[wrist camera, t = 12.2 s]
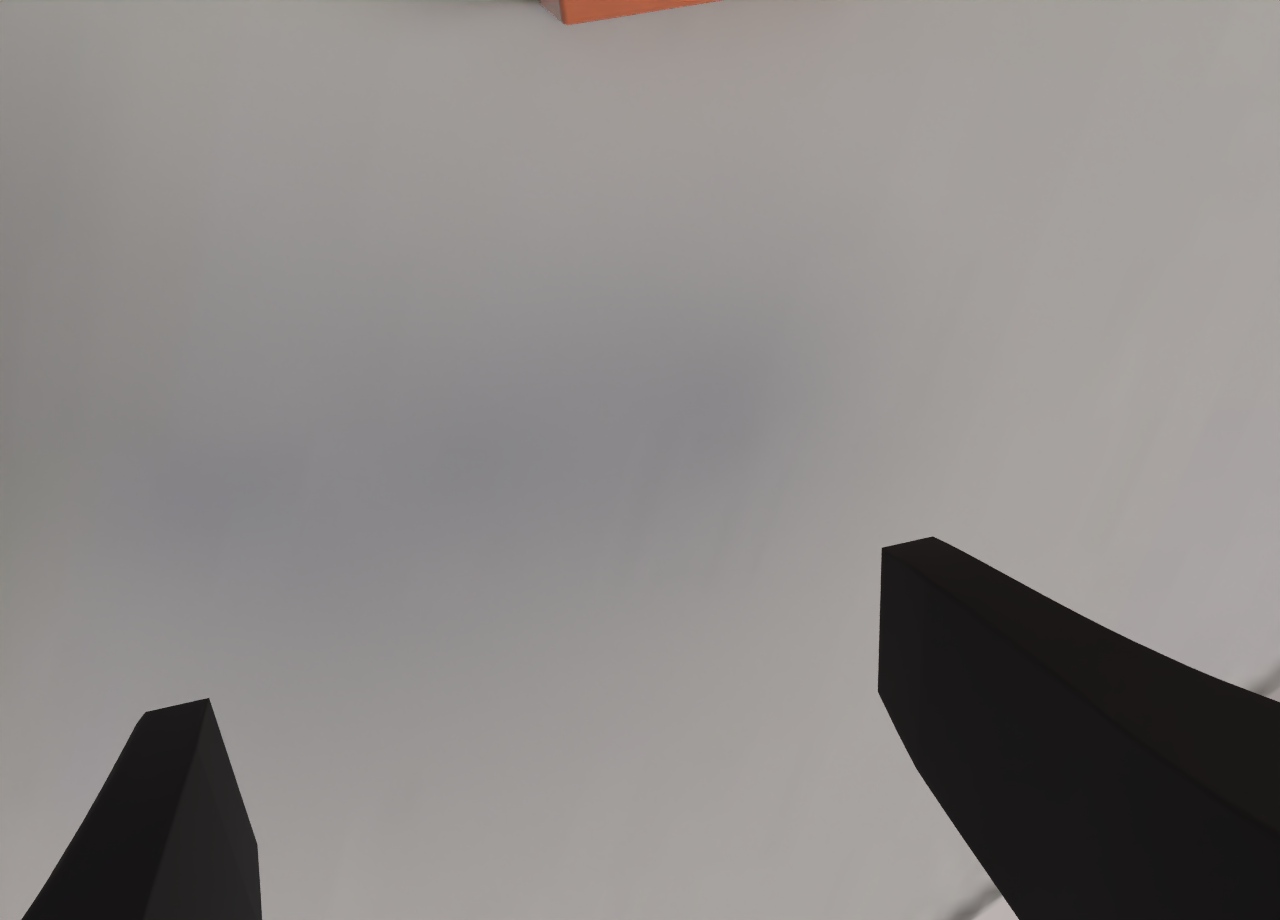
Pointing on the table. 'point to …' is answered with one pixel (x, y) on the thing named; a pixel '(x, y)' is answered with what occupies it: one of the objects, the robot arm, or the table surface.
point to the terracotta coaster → (608, 8)
